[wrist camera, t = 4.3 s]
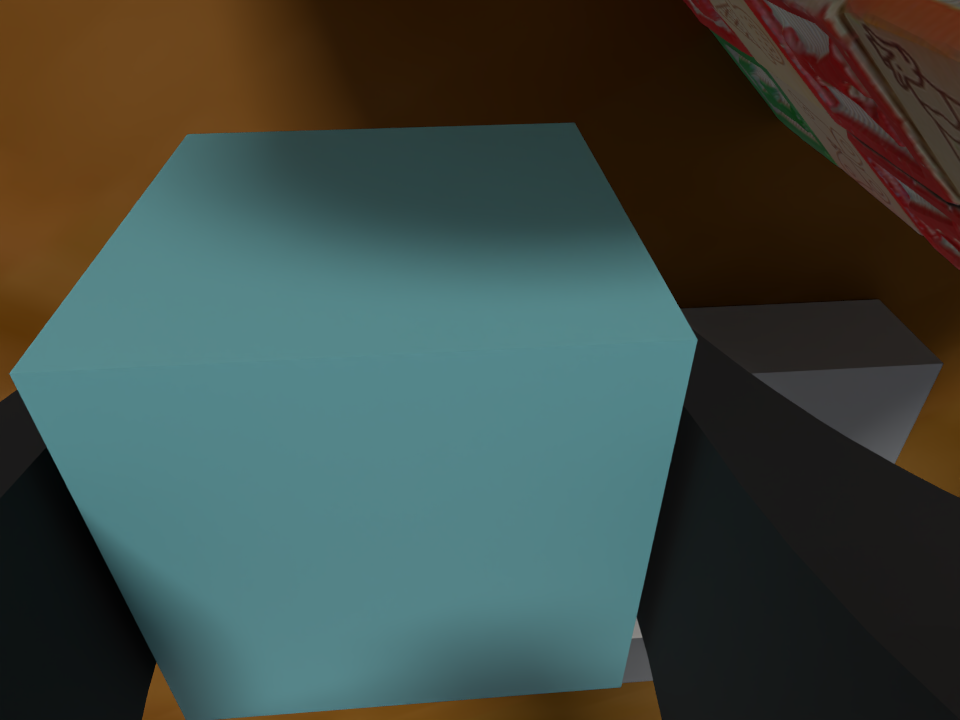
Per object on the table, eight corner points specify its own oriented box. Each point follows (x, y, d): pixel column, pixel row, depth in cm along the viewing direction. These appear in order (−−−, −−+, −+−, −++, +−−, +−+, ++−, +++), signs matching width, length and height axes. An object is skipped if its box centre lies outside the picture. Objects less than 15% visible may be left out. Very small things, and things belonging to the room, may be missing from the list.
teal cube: (574, 122, 9) (697, 340, 5) (552, 410, 12) (621, 688, 8) (187, 133, 9) (10, 372, 5) (261, 426, 12) (186, 721, 8)
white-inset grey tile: (878, 299, 20) (945, 366, 17) (761, 598, 28) (795, 671, 26) (377, 322, 19) (372, 395, 16) (410, 623, 27) (409, 702, 25)
